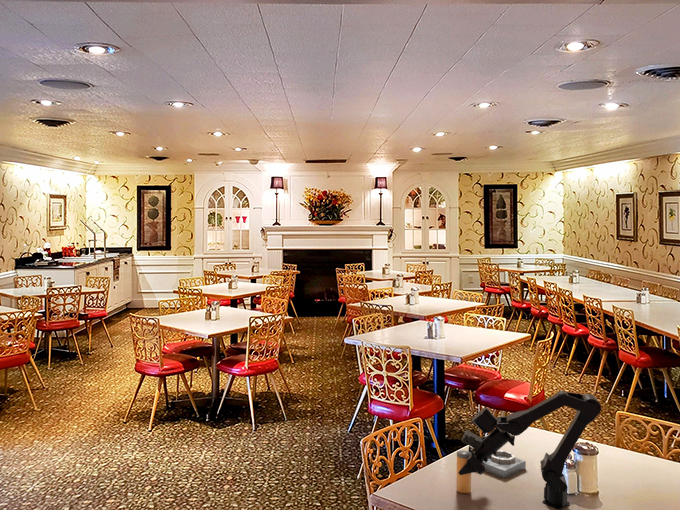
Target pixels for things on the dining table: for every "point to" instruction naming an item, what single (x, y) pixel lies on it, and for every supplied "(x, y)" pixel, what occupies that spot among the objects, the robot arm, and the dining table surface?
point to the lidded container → (463, 480)
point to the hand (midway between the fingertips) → (459, 470)
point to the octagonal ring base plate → (504, 464)
